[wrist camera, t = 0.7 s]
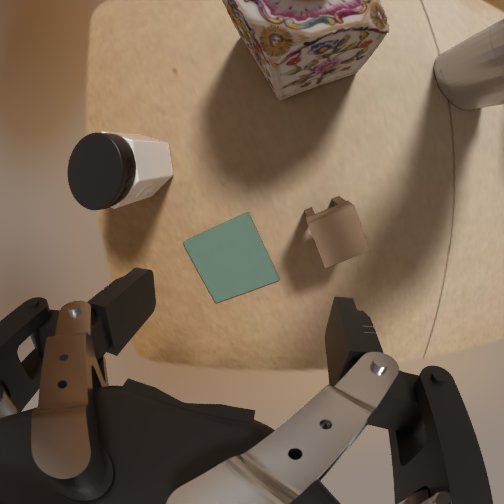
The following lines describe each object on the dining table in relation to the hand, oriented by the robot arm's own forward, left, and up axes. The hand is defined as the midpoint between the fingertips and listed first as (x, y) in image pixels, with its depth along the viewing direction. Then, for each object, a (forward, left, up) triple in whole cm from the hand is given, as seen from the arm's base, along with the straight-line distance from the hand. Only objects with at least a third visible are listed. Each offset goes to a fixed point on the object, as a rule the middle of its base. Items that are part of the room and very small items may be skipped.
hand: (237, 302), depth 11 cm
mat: (+8, +4, -24) cm, 26 cm away
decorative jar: (-12, -18, -24) cm, 32 cm away
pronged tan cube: (-6, +4, -24) cm, 25 cm away
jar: (+13, -13, -24) cm, 30 cm away
